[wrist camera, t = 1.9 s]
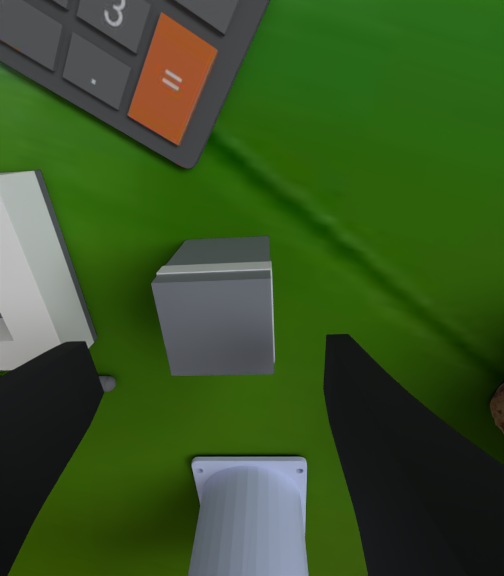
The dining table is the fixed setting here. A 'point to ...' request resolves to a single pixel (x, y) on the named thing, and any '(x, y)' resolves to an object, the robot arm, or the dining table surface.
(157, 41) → the calculator
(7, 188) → the switch plate
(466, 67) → the dining table surface
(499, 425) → the bread
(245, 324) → the block
